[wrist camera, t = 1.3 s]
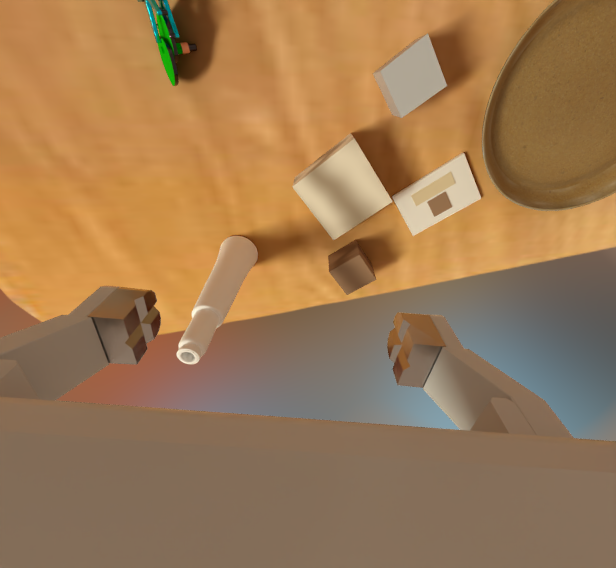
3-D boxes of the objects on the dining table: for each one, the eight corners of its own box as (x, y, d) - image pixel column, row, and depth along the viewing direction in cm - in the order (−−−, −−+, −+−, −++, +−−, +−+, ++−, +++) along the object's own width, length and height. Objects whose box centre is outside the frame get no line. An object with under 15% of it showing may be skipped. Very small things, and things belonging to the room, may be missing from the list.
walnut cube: (355, 239, 45) (359, 254, 41) (371, 262, 47) (376, 279, 43) (328, 255, 47) (329, 271, 42) (344, 277, 49) (346, 294, 45)
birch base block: (350, 132, 37) (354, 138, 33) (385, 190, 41) (392, 201, 37) (295, 176, 40) (292, 186, 36) (332, 226, 44) (333, 240, 40)
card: (462, 152, 38) (464, 153, 37) (479, 197, 41) (481, 198, 40) (391, 196, 41) (392, 197, 40) (412, 234, 44) (413, 236, 43)
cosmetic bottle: (265, 250, 46) (230, 355, 28) (245, 275, 49) (200, 385, 31) (233, 227, 44) (172, 324, 26) (213, 254, 47) (146, 358, 29)
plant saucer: (703, 135, 36) (735, 139, 33) (498, 233, 44) (510, 243, 41) (717, -125, 25) (766, -152, 22) (442, 68, 33) (454, 66, 30)
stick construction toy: (105, -83, 26) (124, -83, 22) (183, -77, 29) (213, -76, 25) (154, 76, 35) (173, 98, 31) (209, 70, 38) (234, 88, 34)
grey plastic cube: (413, 40, 32) (427, 33, 28) (431, 86, 34) (447, 85, 30) (372, 73, 33) (380, 71, 29) (392, 114, 36) (401, 117, 31)
